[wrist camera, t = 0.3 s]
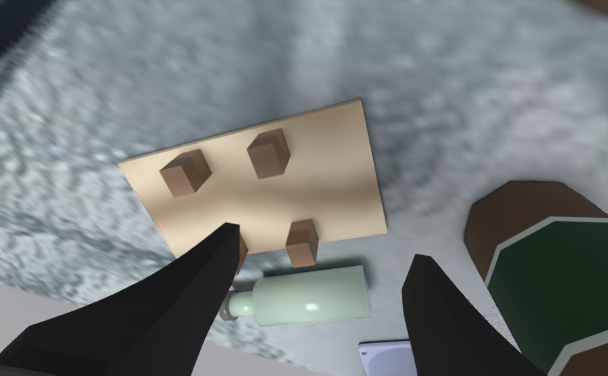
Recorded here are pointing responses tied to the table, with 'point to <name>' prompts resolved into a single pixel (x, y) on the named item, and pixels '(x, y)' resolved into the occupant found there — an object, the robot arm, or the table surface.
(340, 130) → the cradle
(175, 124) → the table surface
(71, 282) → the table surface
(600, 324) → the beer bottle
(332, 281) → the bottle
